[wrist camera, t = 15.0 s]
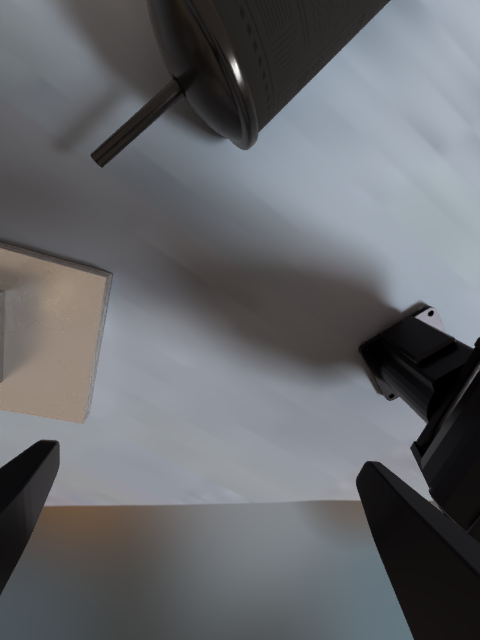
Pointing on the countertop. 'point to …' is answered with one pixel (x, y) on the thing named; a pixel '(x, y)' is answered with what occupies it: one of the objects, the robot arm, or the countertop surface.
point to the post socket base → (49, 333)
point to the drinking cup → (240, 60)
